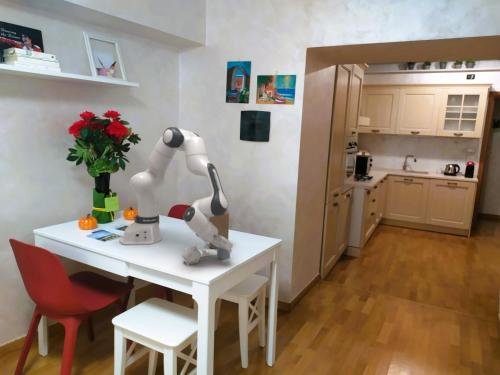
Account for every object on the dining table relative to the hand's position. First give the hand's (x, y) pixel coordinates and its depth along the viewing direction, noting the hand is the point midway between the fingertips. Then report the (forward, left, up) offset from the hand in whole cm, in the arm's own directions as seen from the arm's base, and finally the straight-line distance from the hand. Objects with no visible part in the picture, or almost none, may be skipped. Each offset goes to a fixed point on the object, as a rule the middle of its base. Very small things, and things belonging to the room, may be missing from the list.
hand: (224, 248), depth 184 cm
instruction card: (-7, +9, -5) cm, 13 cm away
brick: (0, 0, -5) cm, 5 cm away
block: (+3, +19, -5) cm, 20 cm away
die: (-17, -2, -5) cm, 18 cm away
